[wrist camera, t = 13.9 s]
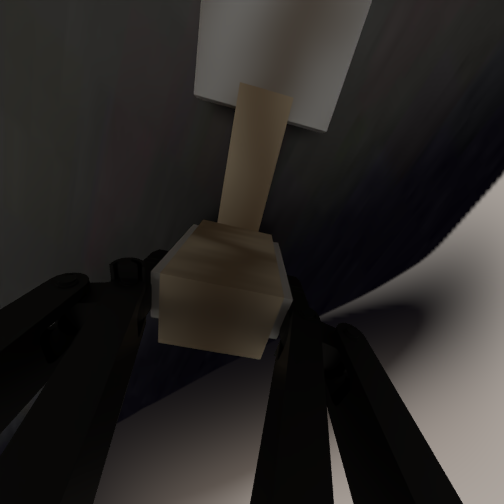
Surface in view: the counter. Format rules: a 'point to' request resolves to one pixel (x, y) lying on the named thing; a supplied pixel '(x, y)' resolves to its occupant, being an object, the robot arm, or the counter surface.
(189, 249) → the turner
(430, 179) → the counter surface
